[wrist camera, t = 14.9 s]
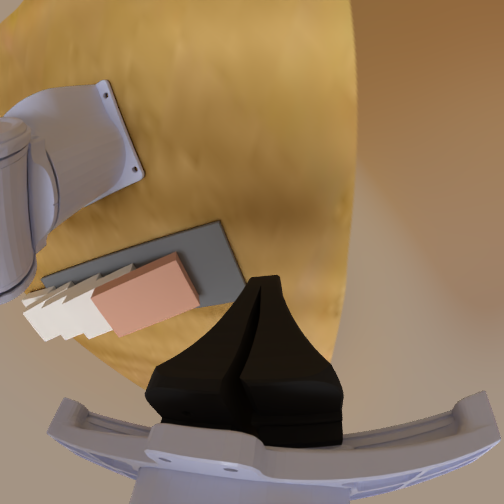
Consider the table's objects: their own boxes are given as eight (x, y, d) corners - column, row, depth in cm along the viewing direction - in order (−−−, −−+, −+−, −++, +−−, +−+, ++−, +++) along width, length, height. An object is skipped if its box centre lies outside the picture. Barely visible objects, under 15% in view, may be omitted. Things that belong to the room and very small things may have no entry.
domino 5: (175, 251, 24) (94, 288, 23) (175, 260, 22) (90, 298, 22) (198, 295, 26) (121, 326, 26) (200, 305, 25) (119, 337, 24)
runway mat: (42, 277, 29) (40, 279, 29) (219, 220, 22) (218, 222, 22) (73, 322, 33) (72, 324, 33) (251, 295, 26) (250, 298, 26)
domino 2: (71, 280, 28) (27, 305, 27) (67, 287, 26) (22, 313, 25) (93, 312, 30) (48, 333, 29) (90, 320, 29) (45, 341, 28)
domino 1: (54, 285, 29) (27, 293, 31) (46, 294, 27) (21, 300, 30) (74, 315, 31) (45, 318, 34) (68, 324, 30) (39, 326, 32)
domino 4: (132, 262, 25) (66, 295, 25) (130, 271, 24) (61, 304, 23) (156, 302, 28) (92, 329, 27) (155, 312, 26) (88, 339, 25)
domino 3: (99, 272, 27) (46, 300, 26) (95, 280, 25) (40, 308, 24) (122, 308, 29) (69, 331, 28) (120, 317, 27) (65, 340, 27)
